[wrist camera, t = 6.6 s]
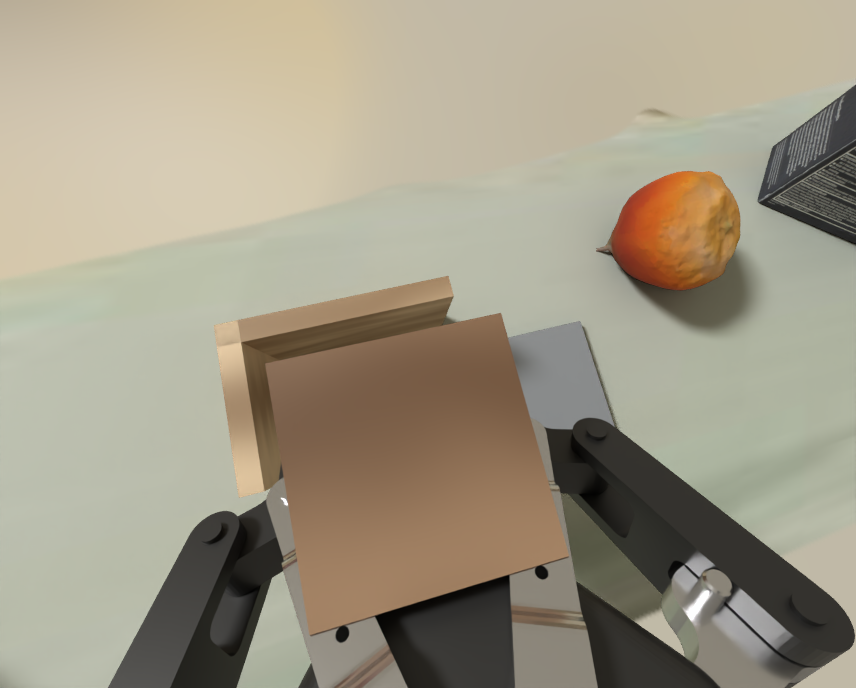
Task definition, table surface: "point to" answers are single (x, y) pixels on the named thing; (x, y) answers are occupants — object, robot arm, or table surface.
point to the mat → (559, 376)
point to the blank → (409, 469)
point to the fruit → (677, 231)
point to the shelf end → (300, 335)
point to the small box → (817, 170)
